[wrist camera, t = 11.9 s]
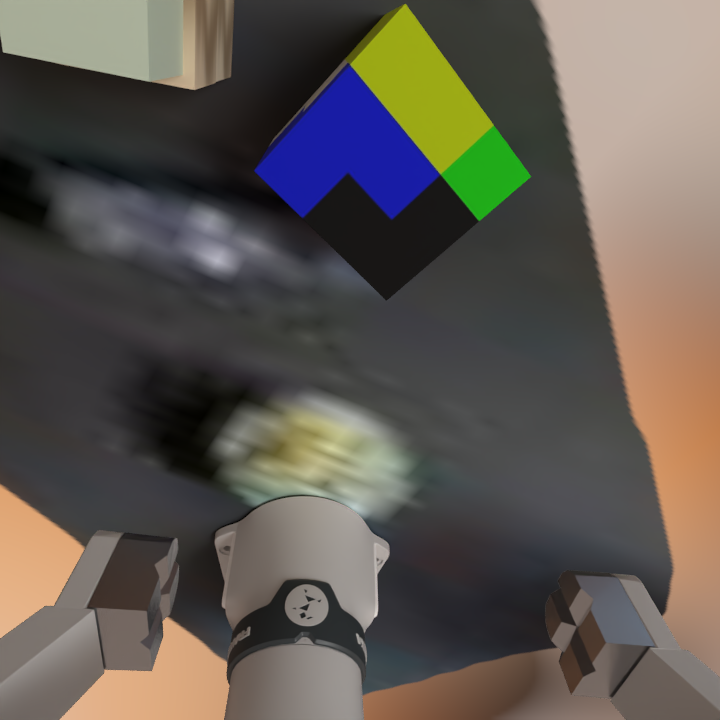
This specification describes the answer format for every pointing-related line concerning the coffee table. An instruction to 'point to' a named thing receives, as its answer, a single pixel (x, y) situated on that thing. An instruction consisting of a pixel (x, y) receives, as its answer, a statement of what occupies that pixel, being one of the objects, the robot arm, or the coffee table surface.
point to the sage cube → (98, 34)
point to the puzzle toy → (391, 156)
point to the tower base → (224, 39)
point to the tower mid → (197, 45)
